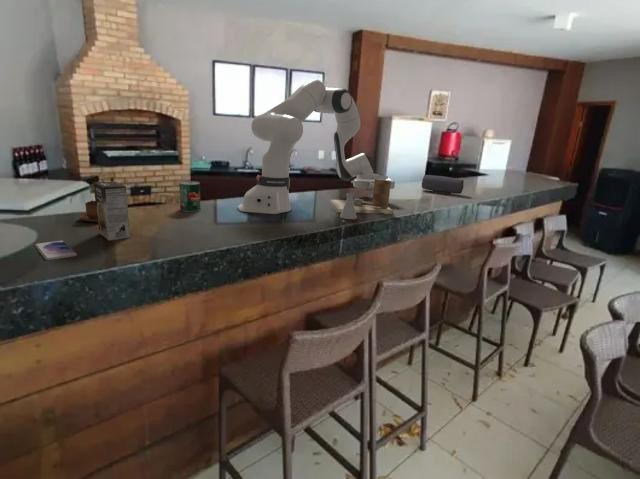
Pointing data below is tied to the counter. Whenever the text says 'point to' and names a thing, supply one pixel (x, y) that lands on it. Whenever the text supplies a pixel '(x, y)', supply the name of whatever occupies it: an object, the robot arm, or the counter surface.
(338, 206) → the dial board
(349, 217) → the flask
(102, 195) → the coffee box
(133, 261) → the counter surface
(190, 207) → the canned tomato
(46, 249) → the smartphone
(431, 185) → the bluetooth speaker
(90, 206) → the cup and saucer
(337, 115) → the robot arm
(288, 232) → the counter surface
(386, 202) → the dial fin
